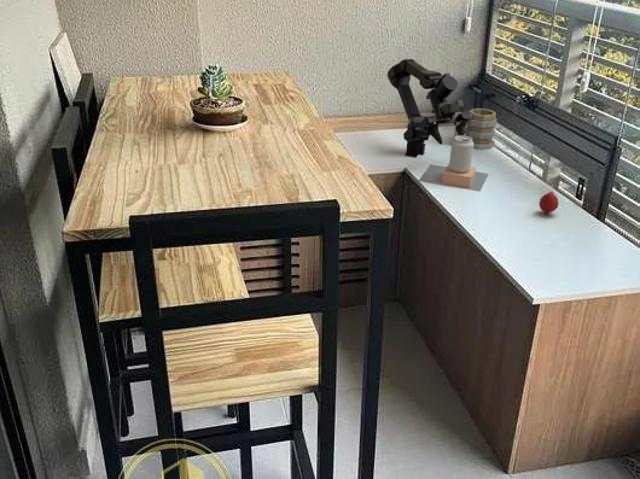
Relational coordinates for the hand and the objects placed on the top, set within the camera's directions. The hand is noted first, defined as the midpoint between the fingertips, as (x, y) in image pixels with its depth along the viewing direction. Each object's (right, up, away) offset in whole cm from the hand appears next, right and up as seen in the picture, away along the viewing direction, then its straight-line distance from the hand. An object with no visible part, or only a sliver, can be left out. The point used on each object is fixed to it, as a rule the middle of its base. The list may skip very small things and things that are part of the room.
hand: (452, 142), depth 231 cm
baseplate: (+1, -13, +4) cm, 14 cm away
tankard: (+15, +5, +39) cm, 42 cm away
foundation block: (+2, -14, +1) cm, 14 cm away
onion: (+27, -26, -20) cm, 43 cm away
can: (+2, -10, -1) cm, 10 cm away
